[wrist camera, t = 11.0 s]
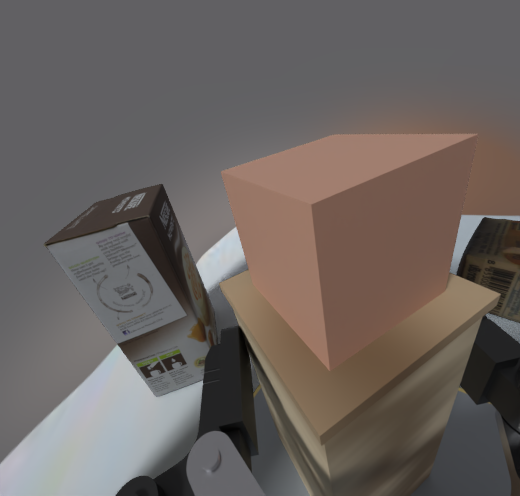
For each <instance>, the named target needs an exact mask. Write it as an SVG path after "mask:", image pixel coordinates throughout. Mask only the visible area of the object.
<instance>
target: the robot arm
mask: <svg viewBox="0 0 520 496" xmlns="http://www.w3.org/2000/svg"><path fill="white" fill-rule="evenodd" d="M460 386H461V387H462V388H463V389H464V391H465V392H466V393H467V394H468V395H469V397H470V398H471V399H472V400H473V401H474V403H475V404H476V405H480V404H484V403H488V402H490V403H491V404H492V405H493V406H494V407H495V408H496V410H495V418H496V422H497V426H498V430H499V434H500V438H501V443H502V447H503V451H504V455H505V459H506V463H507V467H508V471H509V475H510V479H511V496H520V344H519V343H518V342H517V341H516V340H515V339H513V338H512V337H511V336H510V335H508V334H507V333H506V332H505V331H503V330H502V329H501V328H500V327H499V326H497V325H496V324H495V323H494V322H492V321H491V320H490V319H487V317H486V316H485V315H484V316H483V317H482V320H481V323H480V326H479V329H478V332H477V335H476V338H475V341H474V344H473V347H472V350H471V353H470V356H469V359H468V362H467V365H466V368H465V371H464V374H463V377H462V380H461V383H460ZM255 455H259V452H258V441H257V430H256V419H255V408H254V397H253V386H252V375H251V364H250V357H249V352H248V349H247V346H246V343H245V340H244V337H243V334H242V331H241V329H240V326H235V327H231V328H227V329H222V330H221V344H217V345H213V346H211V347H210V349H209V351H208V354H207V356H206V358H205V366H204V378H203V389H202V401H201V412H200V424H199V432H198V436H197V439H196V441H195V444H194V446H193V447H192V449H191V450H190V452H189V453H188V454H187V456H186V457H185V458H184V459H183V460H182V461H180V462H179V463H178V464H176V465H175V466H173V467H172V468H170V469H169V470H167V471H165V472H164V473H162V474H161V475H159V476H158V477H156V478H155V479H152V478H150V477H148V476H139V477H136V478H134V479H132V480H130V481H129V482H128V483H126V484H125V485H124V486H123V487H122V488H121V489H120V490H119V492H118V493H117V494H116V496H266V495H265V494H264V492H263V491H262V489H261V487H260V486H259V484H258V483H257V481H256V479H255V478H254V476H253V475H252V465H251V456H255Z"/></svg>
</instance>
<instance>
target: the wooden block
mask: <svg viewBox="0 0 520 496" xmlns="http://www.w3.org/2000/svg"><path fill="white" fill-rule="evenodd" d="M219 285H220V288H221V291H222V293H223V294H224V296H225V297H226V299H227V300H228V302H229V303H230V305H231V307H232V308H233V310H234V313H235V316H236V319H237V322H238V324H239V326H240V329H241V331H242V334H243V337H244V340H245V343H246V346H247V349H248V352H249V355H250V358H251V360H252V363H253V366H254V369H255V371H256V374H257V377H258V380H259V383H260V385H261V388H262V391H263V394H264V396H265V399H266V402H267V405H268V407H269V410H270V413H271V416H272V419H273V421H274V424H275V427H276V430H277V432H278V435H279V437H280V439H281V441H282V443H283V445H284V447H285V449H286V451H287V453H288V455H289V456H290V458H291V460H292V462H293V464H294V466H295V468H296V470H297V472H298V474H299V476H300V477H301V479H302V481H303V483H304V485H305V487H306V489H307V491H308V493H309V495H310V496H410V495H411V494H412V493H413V492H414V491H415V490H416V489H417V488H418V487H419V486H420V485H421V484H422V483H423V482H424V481H425V480H426V479H427V478H428V477H429V476H430V473H431V470H432V467H433V464H434V461H435V458H436V455H437V452H438V449H439V446H440V443H441V440H442V437H443V434H444V431H445V428H446V425H447V422H448V419H449V416H450V413H451V410H452V407H453V404H454V401H455V398H456V395H457V392H458V389H459V386H460V383H461V380H462V377H463V374H464V371H465V368H466V365H467V362H468V359H469V356H470V353H471V350H472V347H473V344H474V341H475V338H476V335H477V332H478V329H479V326H480V323H481V320H482V317H483V316H484V315H485V314H487V313H488V312H489V311H490V310H492V309H493V308H494V307H495V306H497V303H498V300H499V298H500V295H501V294H500V293H497V292H495V291H492V290H490V289H488V288H485V287H483V286H480V285H478V284H476V283H473V282H471V281H468V280H466V279H464V278H461V277H459V276H456V275H454V274H452V273H449V275H448V280H447V285H446V289H445V292H443V293H442V294H441V295H439V296H438V297H436V298H435V299H433V300H432V301H431V302H429V303H428V304H426V305H425V306H423V307H422V308H420V309H419V310H418V311H416V312H415V313H413V314H412V315H410V316H409V317H407V318H406V319H405V320H403V321H402V322H400V323H399V324H397V325H396V326H395V327H393V328H392V329H390V330H389V331H387V332H386V333H384V334H383V335H382V336H380V337H379V338H377V339H376V340H374V341H373V342H372V343H370V344H369V345H367V346H366V347H364V348H363V349H361V350H360V351H359V352H357V353H356V354H354V355H353V356H351V357H350V358H348V359H347V360H346V361H344V362H343V363H341V364H340V365H338V366H337V367H336V368H334V369H333V370H331V371H329V370H328V369H327V367H326V366H325V365H324V364H323V363H322V362H321V361H320V359H319V358H318V357H317V356H316V355H315V354H314V353H313V352H312V350H311V349H310V348H309V347H308V346H307V345H306V344H305V343H304V341H303V340H302V339H301V338H300V337H299V336H298V335H297V333H296V332H295V331H294V330H293V329H292V328H291V327H290V326H289V324H288V323H287V322H286V321H285V320H284V319H283V318H282V317H281V315H280V314H279V313H278V312H277V311H276V310H275V309H274V307H273V306H272V305H271V304H270V303H269V302H268V301H267V300H266V298H265V297H264V296H263V295H262V294H261V293H260V292H259V291H258V289H257V288H256V287H255V286H254V285H253V283H252V279H251V276H250V272H249V269H248V270H246V271H244V272H242V273H240V274H238V275H236V276H233V277H231V278H229V279H227V280H225V281H223V282H221V283H219Z"/></svg>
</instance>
